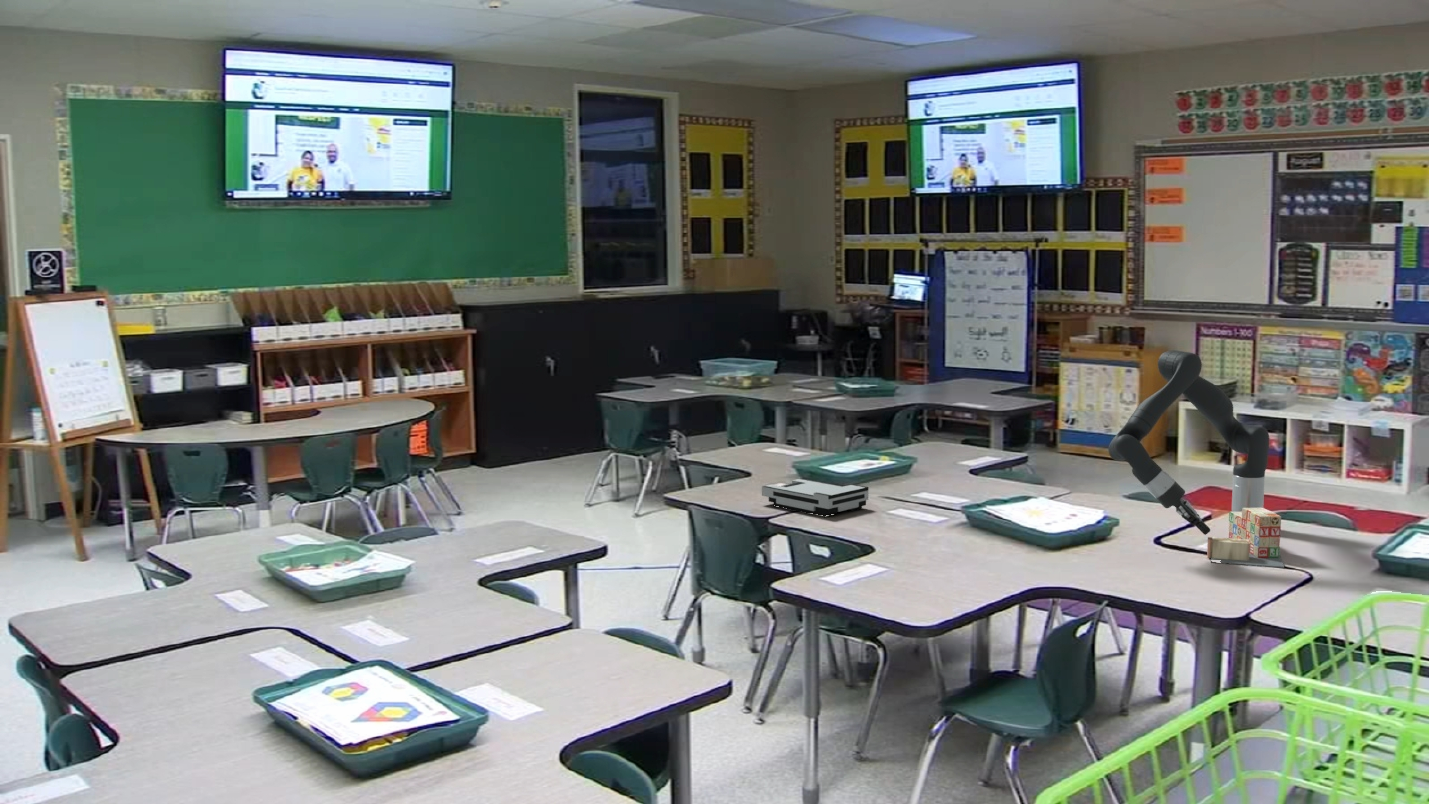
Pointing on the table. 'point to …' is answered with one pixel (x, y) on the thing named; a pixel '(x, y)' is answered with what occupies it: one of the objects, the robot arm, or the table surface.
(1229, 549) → the maple block
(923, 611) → the table surface
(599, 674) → the table surface
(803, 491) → the gray game console
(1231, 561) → the mat
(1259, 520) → the stack of blocks
